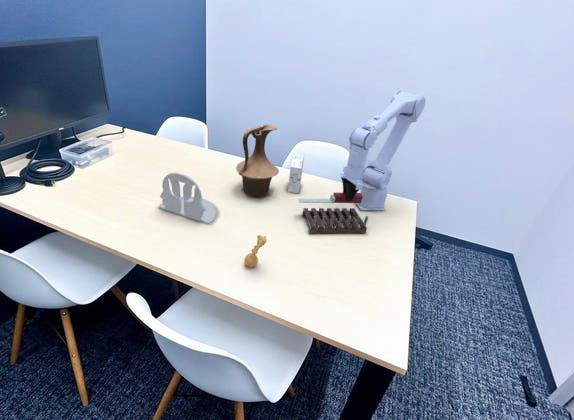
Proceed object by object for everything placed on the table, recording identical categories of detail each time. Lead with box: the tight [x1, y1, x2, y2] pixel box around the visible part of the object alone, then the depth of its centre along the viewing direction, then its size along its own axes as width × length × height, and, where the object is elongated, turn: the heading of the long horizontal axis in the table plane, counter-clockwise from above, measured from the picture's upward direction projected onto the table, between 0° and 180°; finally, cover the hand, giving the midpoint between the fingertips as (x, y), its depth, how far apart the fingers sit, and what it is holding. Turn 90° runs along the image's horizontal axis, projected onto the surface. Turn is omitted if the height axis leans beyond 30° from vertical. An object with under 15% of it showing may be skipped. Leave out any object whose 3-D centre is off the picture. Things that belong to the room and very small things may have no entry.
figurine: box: [244, 234, 267, 268], centre depth 96 cm, size 8×6×12 cm
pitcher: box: [235, 124, 280, 198], centre depth 131 cm, size 18×17×28 cm
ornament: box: [158, 172, 217, 225], centre depth 121 cm, size 22×13×17 cm, turn 65°
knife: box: [297, 192, 363, 204], centre depth 120 cm, size 23×3×3 cm, turn 94°
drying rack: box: [301, 207, 369, 235], centre depth 119 cm, size 20×13×7 cm, turn 95°
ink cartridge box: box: [287, 154, 305, 194], centre depth 139 cm, size 9×5×15 cm, turn 168°
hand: (347, 198), depth 121 cm, fingers closed on knife, 2 cm apart
